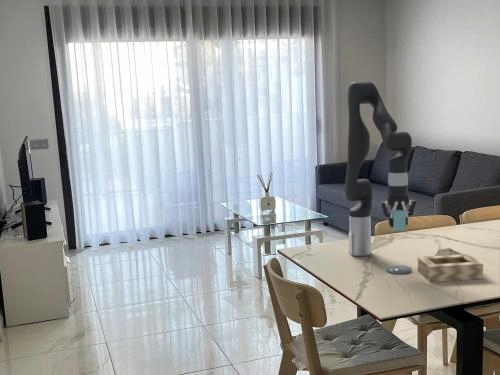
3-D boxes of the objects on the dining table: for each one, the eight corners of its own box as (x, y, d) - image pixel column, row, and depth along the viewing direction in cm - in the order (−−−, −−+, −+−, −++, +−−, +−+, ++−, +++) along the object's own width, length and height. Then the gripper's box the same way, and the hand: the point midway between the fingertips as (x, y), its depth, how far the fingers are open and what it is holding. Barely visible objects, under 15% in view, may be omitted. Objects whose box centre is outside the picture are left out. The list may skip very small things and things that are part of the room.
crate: (429, 281, 218) (429, 266, 217) (417, 271, 232) (417, 256, 231) (482, 278, 219) (483, 263, 218) (467, 268, 232) (467, 254, 232)
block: (394, 231, 229) (394, 211, 228) (391, 228, 233) (390, 208, 232) (405, 230, 229) (405, 210, 228) (402, 228, 233) (402, 208, 232)
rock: (457, 265, 237) (458, 255, 237) (431, 261, 244) (431, 251, 244) (467, 259, 246) (467, 249, 245) (440, 255, 253) (441, 246, 252)
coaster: (389, 275, 228) (389, 273, 228) (383, 267, 238) (383, 265, 238) (415, 273, 229) (415, 271, 229) (407, 266, 239) (407, 264, 238)
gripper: (382, 186, 224) (382, 229, 227) (419, 184, 225) (419, 227, 227) (377, 183, 232) (377, 225, 234) (413, 181, 232) (413, 223, 235)
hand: (398, 226), depth 231 cm, fingers closed on block, 4 cm apart
